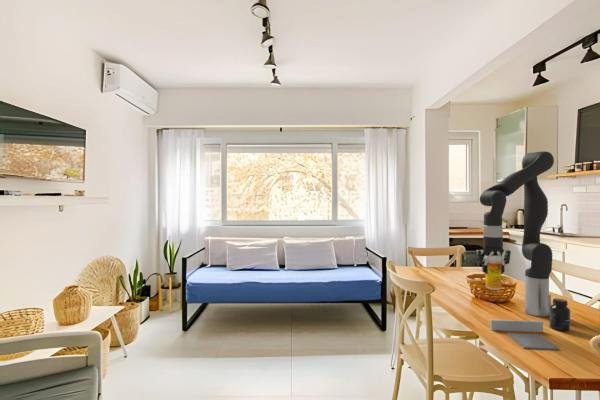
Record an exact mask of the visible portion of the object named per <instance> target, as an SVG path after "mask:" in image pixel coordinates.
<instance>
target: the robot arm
mask: <svg viewBox="0 0 600 400" xmlns="http://www.w3.org/2000/svg"><path fill="white" fill-rule="evenodd" d="M554 163H555V160H554V156H553V154H552V153H551V152H549V151H536V152H535V151H534V152H528V153H526V154H525V155H524V156H523V157H522V160H521V169H519V170H517V171H516V172H512V173H510V174H509V175H508V176H506V177H504V178H503V179H502V180H500V181H499V183H496V184H495V185H492V186H490V187H489V188H487V189H485V190H484V191H482V193H481V194H480V195H479V202H480V204H481V205H482V206H484V207H491V209H490V210H489V211H487V212H485V213H484V215H483V234H482V235H483V238H482V239H483V241H482V243H483V245H482V246H483V249H476V250H475V253H476V261H477V263H478V264H480V265H481V266H482V267H481V268H482V269H481V271H482V272H483V274H485V275H486V274H487V263H488V261H489V257H490V255H492V256H499V255H500V257H501V275H502V274H504V273H505V266H506V265H509V264H510V259H511V253H512V252H511V250H510V249H504V248H503V246H504V231H503V215H504V211H505V208H506V204H507V197H509V196H511V195H513V194H514V193H515V192H516V191H517V190H518V189H520V188H521V187H522V186H523V193H524V194H523V199H524V200H523V237H522V238H523V239H522V244H521V254H522V256H523V257H524V258H525V260H528V261H531V262H530V267H529V268H526V269H525V271H524V274H525V275H524V312H525V313H526V314H528V315H531V316H534V317H540V318H541V317H542V318H543V317H544V318H545V317H550V306H551V305H552V295H551V294H550V274H551V272H552V268H553V267H552V266H553V251H552V248H551V247H550V245H548V244H546V243H542V242H541V230H542V227H543V225H544V223H545V222H546V219H547V218H548V215H549V213H548V212H549V202H548V197H547V195H546V194H545V191H544V190H543V189H542V188H541V186H540V184H539V182H538V176H540V175H541V174H544V173H546V172H547V171H549V170H550V169H551V168H553V166H554ZM483 254H484V255H483ZM482 255H483V256H482ZM502 255H504V257H503V256H502ZM486 256H488V257H487V258H485V257H486Z"/></svg>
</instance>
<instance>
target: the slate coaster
mask: <svg viewBox="0 0 600 400" xmlns="http://www.w3.org/2000/svg"><path fill="white" fill-rule="evenodd" d="M506 336H508V337H509V338H510V339H511V340H513V341H514V342H515V343H516V344H518V345H519V346H520V347H521V348H523V349H525V350H526V349H528V350H547V351H548V350H549V351H560V347H558V346H557V345H555V344H553V342H551V341H549V340H548V339H547V338H545V337H544V336H542V335H541V334H530V333H508V332H507V333H506Z"/></svg>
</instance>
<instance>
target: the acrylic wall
mask: <svg viewBox="0 0 600 400" xmlns="http://www.w3.org/2000/svg"><path fill="white" fill-rule="evenodd" d="M489 321H490V322H489V329H490V330H491V331H507V332H533V333H544V321H541V320H516V319H515V320H514V319H491V318H490V320H489Z"/></svg>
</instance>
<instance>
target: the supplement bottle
mask: <svg viewBox="0 0 600 400" xmlns="http://www.w3.org/2000/svg"><path fill="white" fill-rule="evenodd" d="M549 327H550V328H551V329H552V330H556V331H559V332H569V331H571V309H570V307H568V300H567V299H564V298H553V299H552V304H551V306H550V316H549Z"/></svg>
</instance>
